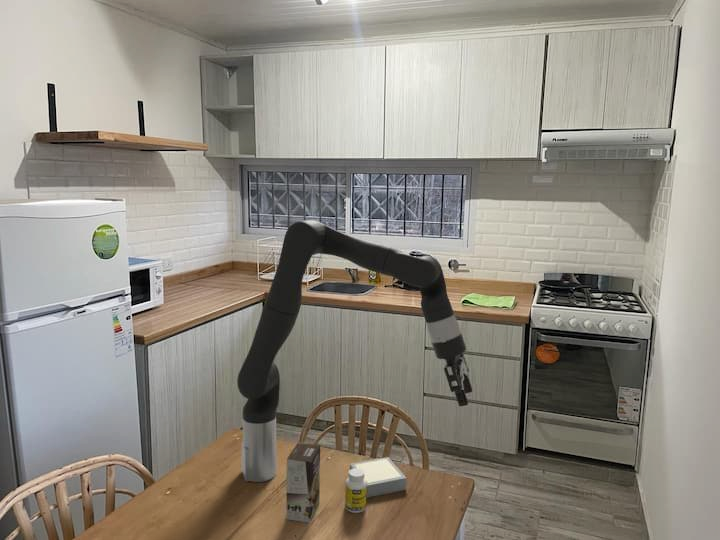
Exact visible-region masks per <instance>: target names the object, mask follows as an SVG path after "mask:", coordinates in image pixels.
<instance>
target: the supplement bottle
mask: <svg viewBox="0 0 720 540" xmlns="http://www.w3.org/2000/svg"><path fill="white" fill-rule="evenodd" d="M366 489H367V482H366V480H365V479H364V471H363V470H362V469H358V468H355V469H351V470H350V469H349V471H348V477H347V479H346V480H345V490H344V491H345V494H344V495H345V496H344V497H345V498H344V506H345V510H347V511H348V512H350V513H353V514H357V513H358V514H359V513H363V511H365V510H366V507H367V498H366Z"/></svg>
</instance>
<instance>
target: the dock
mask: <svg viewBox="0 0 720 540" xmlns="http://www.w3.org/2000/svg"><path fill="white" fill-rule="evenodd" d="M355 468H358V469H362V470H363V471H364V479H365V480H366V482H367V489H366V499H368V498H373V497H376V496H383V495H387V494H391V493H397V492H401V491H406V490H407V476H406V475H405V474H404V473H403V472H402V471H401V470H400V469H399V467H398V466H397V465H396V464H395V463H394V462H393V460H392V459H391V458H390V457H389V456H386V457H381V458H376V459H370V460H369V459H368V460H363V461H358V462H353V463H349V471H350V470H351V469H355Z"/></svg>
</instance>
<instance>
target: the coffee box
mask: <svg viewBox="0 0 720 540" xmlns="http://www.w3.org/2000/svg"><path fill="white" fill-rule="evenodd" d="M320 475H321V445H319V444H313V443H312V444H311V443H299V442H298V443H296V445H295V446H294V448H293V450H291V451H290V453H289V455H288V456H287V458H286V490H285V491H286V500H285V501H286V504H285V505H286V507H285V509H286V511H285V512H286V513H285V514H286V515H285V516H286V517H285V518H286V520H290V521H296V522H302V523H307V524H309V523H311V520H312V519H313V518H314V517H313V516H314V515H315V512H316V511H317V509H318V507H319V504H320V499H321V498H320V492H321V491H320V489H321V488H320V483H321V481H320V480H321V476H320Z"/></svg>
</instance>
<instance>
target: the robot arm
mask: <svg viewBox="0 0 720 540" xmlns="http://www.w3.org/2000/svg"><path fill="white" fill-rule="evenodd" d="M317 254H320V255H321V254H322V255H327V256H328V255H329V256H334V257H338V258H342V259H344V260H346V261H348V262H351V263H352V264H354V265H356V266H359V267H360V268H362V269H365V270H367V271H370V272H374V273H378V274H381V275H384V276H388V277H392V278H394V279H396V280H398V281H400V282H403V283H405V284H407V285H409V286H412V287H415V288H419V293H420V295H421V300H420V307H421V311H422V314H423V317H424V320H425V322H426V327H427V332H428V335H429V338H430V341H431V345H432V348H433V351H434V354H435V357H436V358H437V359H438V360H445V362H446V364H445V367H444V368H443V371H444V375H445V377H446V380H447V383H448V386H449V391H450V392H451V393H454V395H455V397H456V400H457V404H458V406H459V407H464V406H468V405H469V400H468V397H467V394H469V393H472V392H473V388H472V387H473V386H472V384H471V381H470V377H469V376H470V373H469V372H470V369H469V367H468V364H467V361H466V357H465V356H464V355H465V354H464V353H465V352H466V350H467V347H466V343H465V340H464V337H463V334H462V331H461V327H460V325H459V322H458V319H457V317H456V316H455V314H454V309H453V306H452V304H451V302H450V298H449V295H448V292H447V285H446V281H445V275H444V271H443V268H442V266H441V264H440V261H439V260H438V259H436V258H435V257H433V256H430V255H423V256H420V257H419V256H413V255H410V254H406V253H403V251H402V250H401V249H398V248H395V247H393V246H388V245H385V244H381V243H377V242H373V241H370V240H366V239H362V238H359V237H355V236H353V235H349V234H347V233H344V232H341V231H339V230H336V229H334V228H332V227H331V226H328V225H326V224H324V223H322V222H320V221H317V220H315V219H304V220H298V221H295V222H293V223H292V224H291V225H289V227H288V228H287V230H286V231H285V235H284V237H283V242H282V247H281V251H280V256H279V260H278V266H277V268H276V271H275V274H274V277H273V279H272V282H271V285H270V288H269V291H268V294H267V296H266V299H265V302H264V305H263V308H262V311H261V314H260V317H259V320H258V323H257V327H256V329H255V333H254V336H253V340H252V343H251V344H250V345H251V346H250V347H249V351H248V353H247V355H246V357H245V360H244V361H243V363H242V366H241V368H240V370H239V372H238V374H237V375H238V376H237V378H236V381H237V388H238V391H239V394H240V395H241V396H242V397H244V398H246V399H247V401H246V403H245V404H244V405H243V409H242V439H241V473H242V476H243V479H244V482H246V483H247V482H251V483H252V482H253V483H262V482H267V481H270V480H272V479H274V477H275V476H276V474H277V409H278V407H279V403H280V387H281V383H280V382H281V379H280V377H281V375H280V371H279V368H278V366H277V365H276V364H275V358H276V356H277V354H278V352H279V351H280V349H281V348H282V347H283V345H284V344H285V342H286V341H287V339H288V337H289V336H290V334H291V332H292V331H293V329H294V326H295V325H296V322H297V319H298V316H299V314H300V309H301V306H302V297H303V296H302V295H303V294H302V293H303V291H302V289H303V288H302V285H303V279H304V276H305V273H306V270H307V267H308V266H309V263H310V260H311V258H312V257H313V256H315V255H317ZM456 384H457V385H456Z"/></svg>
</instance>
